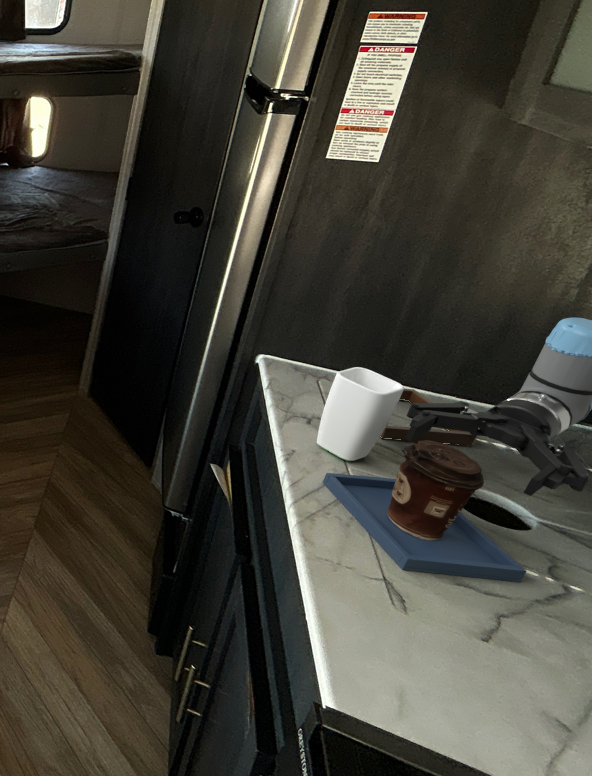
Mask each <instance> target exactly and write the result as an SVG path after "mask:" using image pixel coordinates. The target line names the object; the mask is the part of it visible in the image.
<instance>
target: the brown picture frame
mask: <svg viewBox="0 0 592 776" xmlns="http://www.w3.org/2000/svg"><path fill="white" fill-rule="evenodd" d="M400 399H405V400H409V401H410V402H411V403H410V402H409V401H406V402H407V403H409V404H410V405H411V404H412V403H433V402H432V401H431V400H430V399H428V398H427V397H425V396H424V395H423V394H421V393H420V392H419V391H417V390H416V389H414V388H404V390H403V392H402V395H401V397H400ZM398 402H402V401H401V400H399V401H398ZM409 430H410V426H409V427H407V426H397V425H395V426H394V425H388V424H387V425H386V427H385V429H384V431H383V433H382V434H381V437H382V438H392V439H386V440H387V441H388V440H389V441H395V440H394V439H401V440H397V441H399V442H412V443H413V442H414V443H418V441H425V440H429V441H434V442H438V443H442V444H443V443H450V444H446V445H449V446H456V445H455V444H459V445H458V446H461V447H473V444H474V442H475V441H476V438H477V437H478V435H472V434H470V433H469V432H468V431H460V430H452V429H448V430H449V431H448V430H446V429H435V428H433V429H432V428H431V430H430V431H428V432H426V433H425V434H423V435H421V436H419V437H418V438H416V439H414V440H413V441H409V440H407V439H405V438H406V436H407V434H408V432H409ZM381 437H379V439H381V440H383V439H382V438H381ZM468 445H469V446H468Z"/></svg>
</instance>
